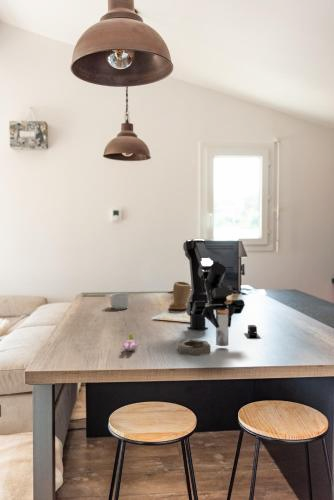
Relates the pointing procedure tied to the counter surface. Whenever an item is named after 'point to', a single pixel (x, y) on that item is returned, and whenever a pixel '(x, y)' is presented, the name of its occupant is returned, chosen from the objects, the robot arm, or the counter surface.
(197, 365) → the counter surface
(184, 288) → the stone cup
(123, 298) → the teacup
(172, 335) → the counter surface
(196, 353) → the ring nut
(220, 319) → the grey copper-topped cylinder
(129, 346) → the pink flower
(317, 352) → the counter surface
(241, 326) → the counter surface
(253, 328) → the black flanged block
